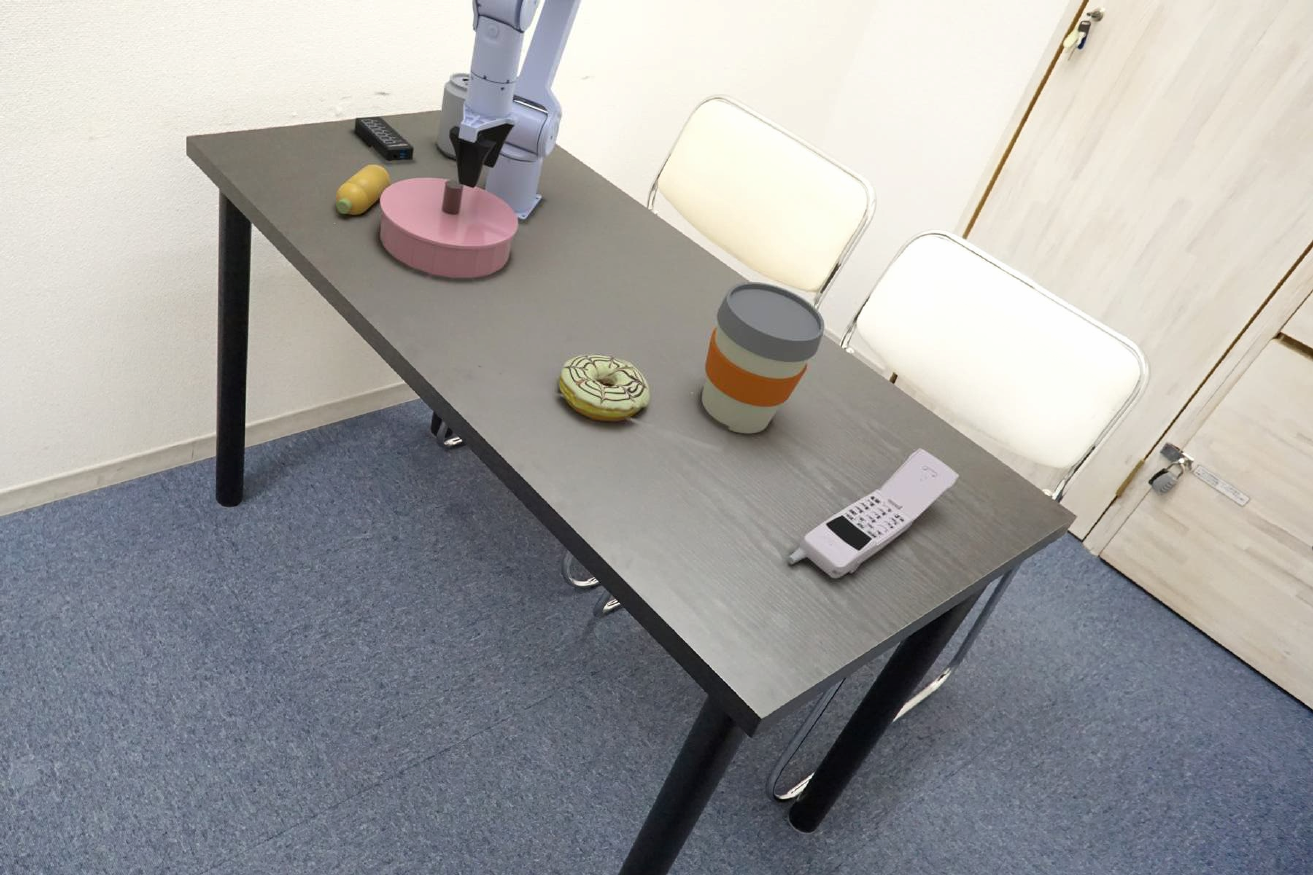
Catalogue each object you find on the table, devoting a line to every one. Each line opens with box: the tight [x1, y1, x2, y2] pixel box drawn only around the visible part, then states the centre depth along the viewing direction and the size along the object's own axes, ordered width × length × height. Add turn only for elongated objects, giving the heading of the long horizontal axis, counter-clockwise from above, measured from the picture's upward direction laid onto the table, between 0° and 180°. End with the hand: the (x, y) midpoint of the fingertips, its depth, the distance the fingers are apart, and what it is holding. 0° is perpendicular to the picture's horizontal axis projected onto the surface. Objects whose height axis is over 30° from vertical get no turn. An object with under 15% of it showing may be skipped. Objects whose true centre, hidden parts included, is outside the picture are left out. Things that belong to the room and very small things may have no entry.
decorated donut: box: [558, 353, 651, 422], centre depth 112 cm, size 10×11×4 cm
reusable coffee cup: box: [701, 281, 826, 434], centre depth 115 cm, size 13×12×15 cm
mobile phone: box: [787, 447, 960, 579], centre depth 106 cm, size 6×6×25 cm
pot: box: [379, 212, 514, 279], centre depth 129 cm, size 17×17×5 cm
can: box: [436, 72, 470, 160], centre depth 151 cm, size 8×8×12 cm
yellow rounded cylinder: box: [335, 164, 391, 216], centre depth 132 cm, size 12×4×4 cm, turn 170°
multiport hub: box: [354, 116, 415, 162], centre depth 148 cm, size 4×11×2 cm, turn 41°
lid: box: [379, 177, 519, 249], centre depth 127 cm, size 18×18×5 cm
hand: (477, 174), depth 127 cm, fingers open, 7 cm apart
